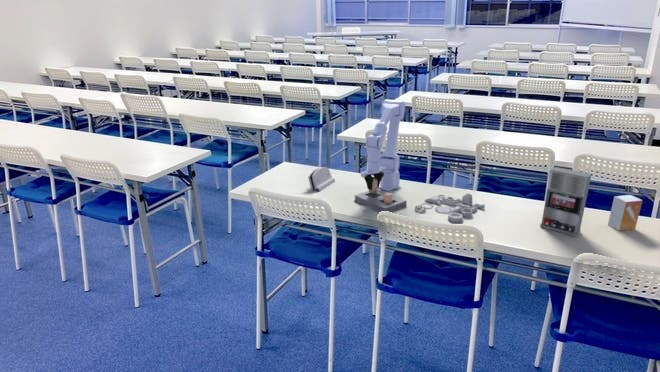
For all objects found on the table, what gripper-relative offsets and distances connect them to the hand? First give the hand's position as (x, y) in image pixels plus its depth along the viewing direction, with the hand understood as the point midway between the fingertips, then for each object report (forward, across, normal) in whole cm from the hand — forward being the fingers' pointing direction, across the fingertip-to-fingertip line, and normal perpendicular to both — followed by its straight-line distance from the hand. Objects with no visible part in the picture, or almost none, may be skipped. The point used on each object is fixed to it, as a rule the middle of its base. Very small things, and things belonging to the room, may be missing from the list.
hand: (373, 188), depth 221 cm
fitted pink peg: (+6, 0, +10) cm, 12 cm away
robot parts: (+7, -19, +29) cm, 35 cm away
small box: (+6, -59, +87) cm, 105 cm away
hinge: (+6, +7, -31) cm, 33 cm away
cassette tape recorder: (+6, -37, +72) cm, 81 cm away
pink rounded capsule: (+2, 0, 0) cm, 2 cm away
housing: (+6, 0, +5) cm, 8 cm away
